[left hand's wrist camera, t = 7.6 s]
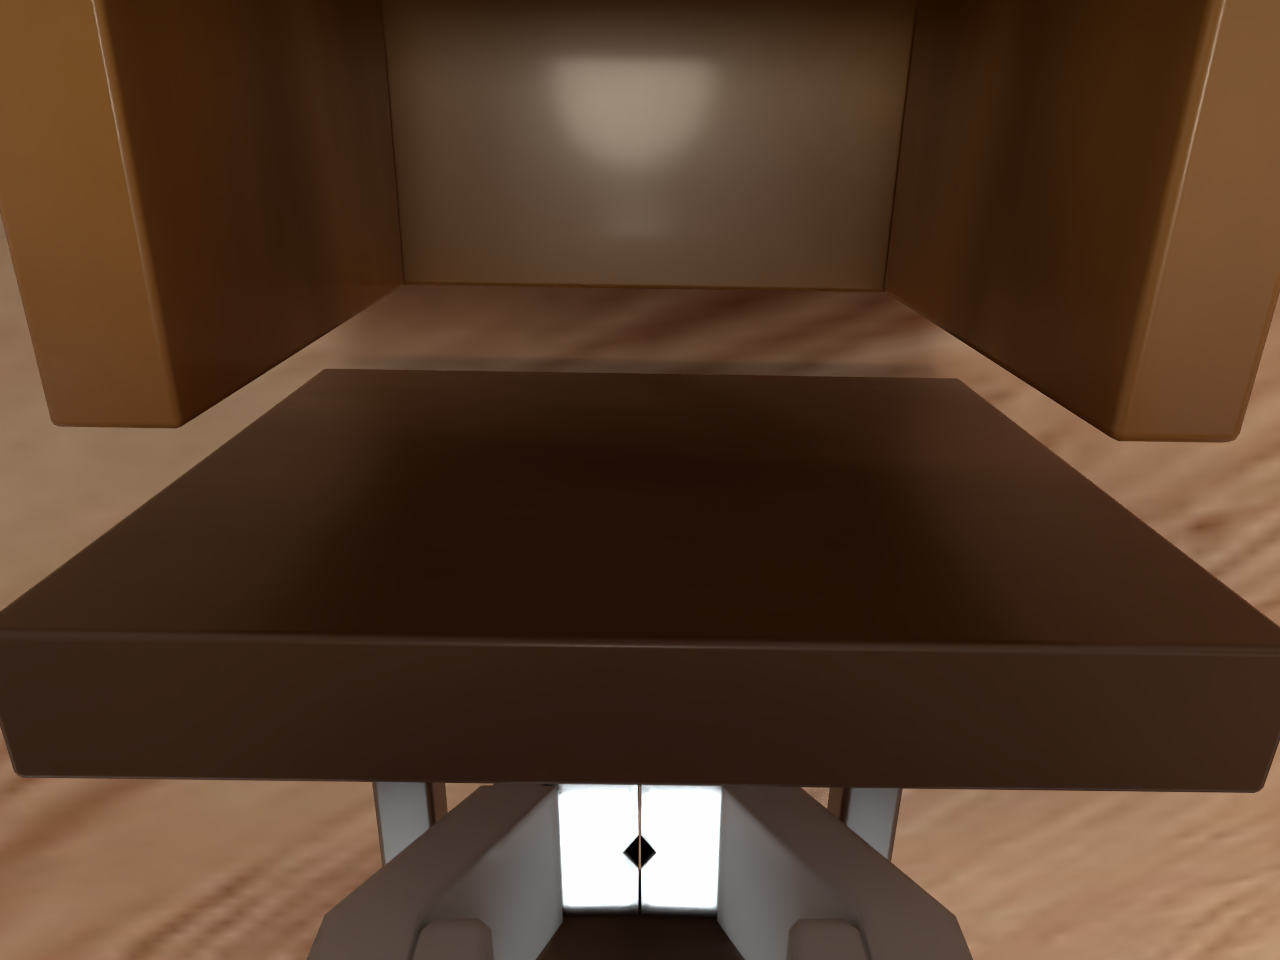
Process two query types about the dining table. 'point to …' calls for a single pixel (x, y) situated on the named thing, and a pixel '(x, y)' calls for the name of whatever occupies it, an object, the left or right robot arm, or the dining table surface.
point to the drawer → (643, 398)
